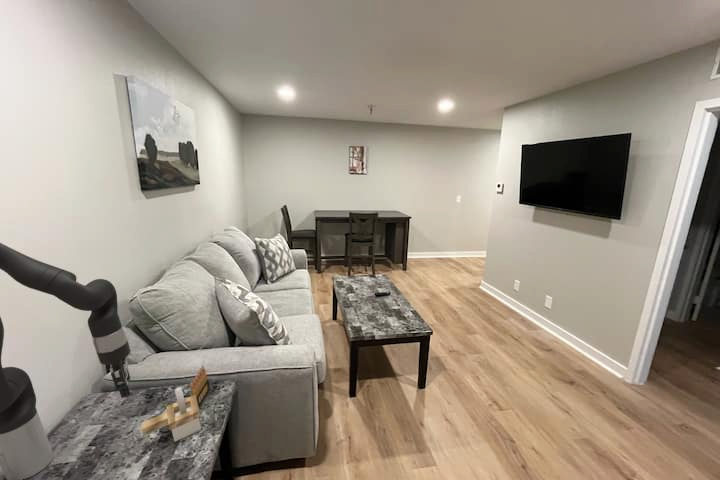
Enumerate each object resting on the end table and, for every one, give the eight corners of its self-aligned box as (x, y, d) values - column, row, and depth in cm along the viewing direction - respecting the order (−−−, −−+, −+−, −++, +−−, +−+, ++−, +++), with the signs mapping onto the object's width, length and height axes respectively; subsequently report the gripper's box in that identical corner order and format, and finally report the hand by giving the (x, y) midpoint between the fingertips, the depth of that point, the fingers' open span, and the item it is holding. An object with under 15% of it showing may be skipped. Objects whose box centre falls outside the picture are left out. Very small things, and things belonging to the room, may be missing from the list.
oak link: (143, 442, 93) (141, 436, 93) (143, 422, 101) (141, 416, 100) (200, 416, 102) (199, 410, 102) (196, 400, 109) (195, 394, 109)
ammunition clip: (198, 410, 112) (192, 383, 109) (193, 410, 112) (187, 383, 109) (210, 388, 122) (205, 363, 119) (206, 388, 122) (201, 363, 119)
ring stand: (174, 441, 99) (164, 402, 95) (172, 425, 106) (163, 387, 101) (201, 429, 104) (193, 391, 100) (197, 413, 110) (190, 377, 106)
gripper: (97, 338, 94) (112, 381, 99) (93, 361, 83) (110, 408, 88) (127, 329, 98) (140, 370, 103) (126, 350, 87) (141, 395, 92)
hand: (126, 388), depth 95 cm, fingers open, 8 cm apart
